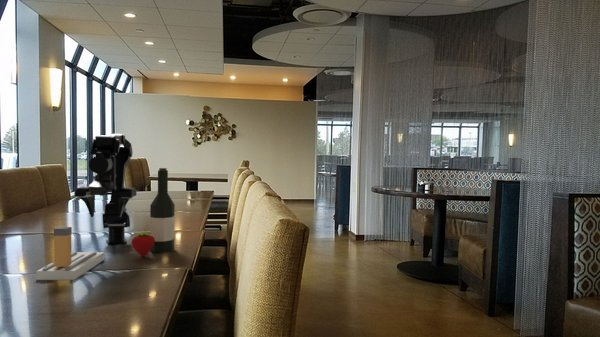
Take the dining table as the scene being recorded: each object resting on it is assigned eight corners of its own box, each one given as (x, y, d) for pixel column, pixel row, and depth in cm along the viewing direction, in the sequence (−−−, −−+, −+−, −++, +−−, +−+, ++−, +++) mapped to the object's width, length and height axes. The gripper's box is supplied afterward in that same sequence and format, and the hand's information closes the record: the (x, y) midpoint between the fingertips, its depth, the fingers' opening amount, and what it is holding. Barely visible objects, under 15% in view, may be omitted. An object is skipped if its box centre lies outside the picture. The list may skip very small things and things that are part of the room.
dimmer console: (72, 259, 129) (72, 250, 129) (104, 259, 130) (104, 250, 130) (36, 279, 109) (36, 268, 109) (74, 279, 110) (74, 268, 110)
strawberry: (129, 256, 134) (129, 227, 134) (151, 253, 139) (151, 225, 138) (134, 260, 129) (134, 230, 129) (157, 257, 134) (157, 228, 134)
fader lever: (58, 264, 114) (58, 226, 114) (71, 264, 115) (71, 226, 114) (53, 266, 112) (53, 228, 111) (67, 266, 112) (67, 228, 112)
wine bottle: (178, 248, 146) (179, 168, 145) (164, 254, 138) (165, 169, 137) (160, 246, 149) (161, 167, 147) (144, 251, 141) (145, 168, 140)
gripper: (65, 172, 127) (65, 220, 127) (125, 173, 128) (125, 221, 129) (82, 170, 138) (82, 215, 138) (137, 171, 139) (136, 215, 140)
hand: (106, 216), depth 136 cm, fingers open, 9 cm apart
